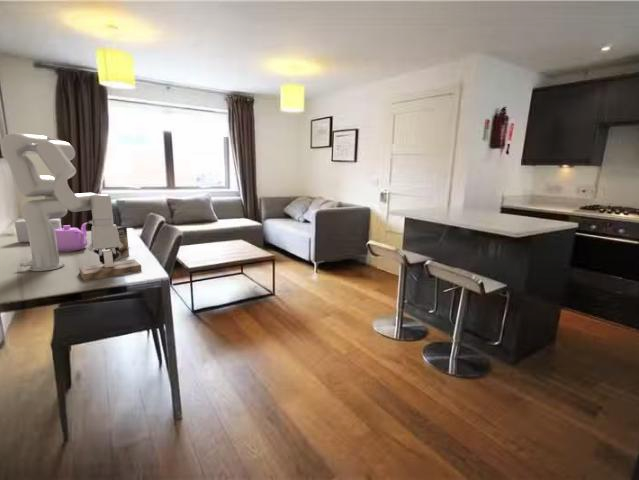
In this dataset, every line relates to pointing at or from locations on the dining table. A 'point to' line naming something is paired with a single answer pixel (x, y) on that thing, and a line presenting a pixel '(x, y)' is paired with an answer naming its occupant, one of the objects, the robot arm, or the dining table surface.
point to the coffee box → (124, 240)
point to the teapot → (71, 238)
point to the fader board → (109, 269)
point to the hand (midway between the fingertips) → (108, 262)
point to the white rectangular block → (107, 258)
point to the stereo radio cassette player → (23, 232)
